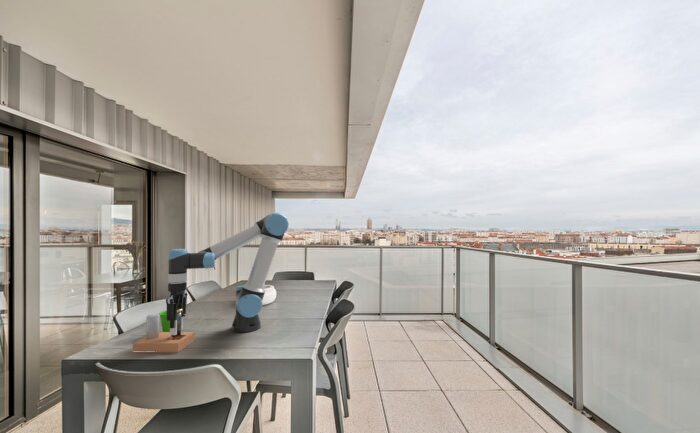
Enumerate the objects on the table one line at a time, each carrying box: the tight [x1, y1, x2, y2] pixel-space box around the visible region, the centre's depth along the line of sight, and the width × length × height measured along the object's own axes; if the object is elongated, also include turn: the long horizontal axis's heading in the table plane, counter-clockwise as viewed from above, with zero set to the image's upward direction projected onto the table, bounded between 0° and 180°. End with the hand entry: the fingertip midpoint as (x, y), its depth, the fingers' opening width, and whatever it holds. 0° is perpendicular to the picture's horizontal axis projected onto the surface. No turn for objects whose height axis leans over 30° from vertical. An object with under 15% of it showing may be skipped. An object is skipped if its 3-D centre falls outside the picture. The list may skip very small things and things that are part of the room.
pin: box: [171, 308, 183, 337], centre depth 138 cm, size 5×5×12 cm
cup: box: [159, 310, 170, 332], centre depth 154 cm, size 9×9×11 cm
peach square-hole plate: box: [132, 313, 196, 353], centre depth 138 cm, size 20×14×14 cm
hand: (176, 332), depth 138 cm, fingers closed on pin, 4 cm apart
